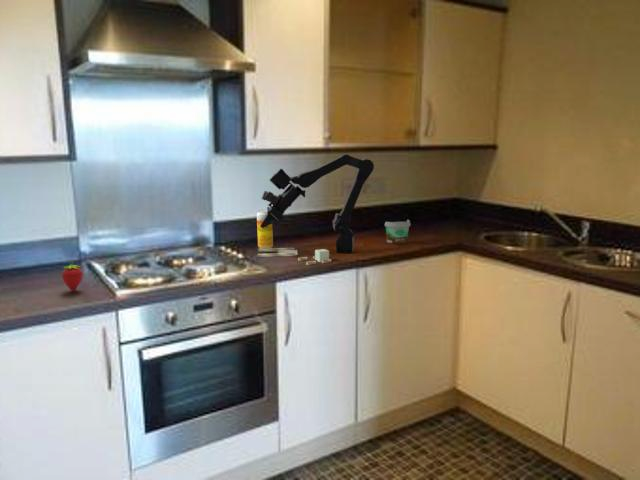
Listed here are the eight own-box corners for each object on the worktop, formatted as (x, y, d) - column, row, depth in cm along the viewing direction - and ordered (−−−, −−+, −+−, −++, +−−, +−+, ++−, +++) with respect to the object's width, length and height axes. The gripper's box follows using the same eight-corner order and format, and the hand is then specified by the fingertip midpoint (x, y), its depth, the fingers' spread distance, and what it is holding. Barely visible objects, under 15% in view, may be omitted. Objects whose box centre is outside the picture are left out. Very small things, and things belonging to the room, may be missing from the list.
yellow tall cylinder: (259, 249, 222) (257, 212, 219) (257, 247, 227) (255, 210, 225) (274, 248, 223) (273, 211, 220) (271, 245, 229) (270, 210, 226)
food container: (391, 246, 238) (391, 223, 236) (384, 243, 244) (384, 221, 242) (415, 243, 243) (416, 221, 241) (407, 241, 249) (408, 219, 247)
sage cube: (324, 259, 216) (324, 248, 215) (329, 261, 213) (329, 250, 212) (315, 260, 214) (315, 250, 213) (319, 262, 211) (319, 251, 210)
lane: (294, 250, 232) (294, 247, 232) (295, 255, 221) (295, 253, 221) (258, 251, 231) (258, 248, 231) (257, 256, 220) (257, 254, 220)
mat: (296, 250, 231) (296, 250, 231) (297, 254, 223) (297, 254, 223) (277, 251, 230) (277, 250, 230) (277, 255, 222) (277, 254, 222)
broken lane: (321, 257, 218) (321, 255, 218) (331, 261, 210) (331, 259, 210) (298, 260, 214) (298, 257, 213) (307, 264, 206) (307, 262, 206)
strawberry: (84, 287, 178) (81, 257, 176) (84, 293, 172) (81, 261, 170) (64, 289, 176) (61, 258, 174) (63, 295, 169) (60, 263, 167)
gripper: (272, 181, 230) (247, 209, 231) (273, 186, 211) (245, 215, 213) (292, 200, 232) (267, 227, 233) (294, 205, 214) (266, 235, 215)
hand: (261, 225), depth 223 cm, fingers closed on yellow tall cylinder, 6 cm apart
